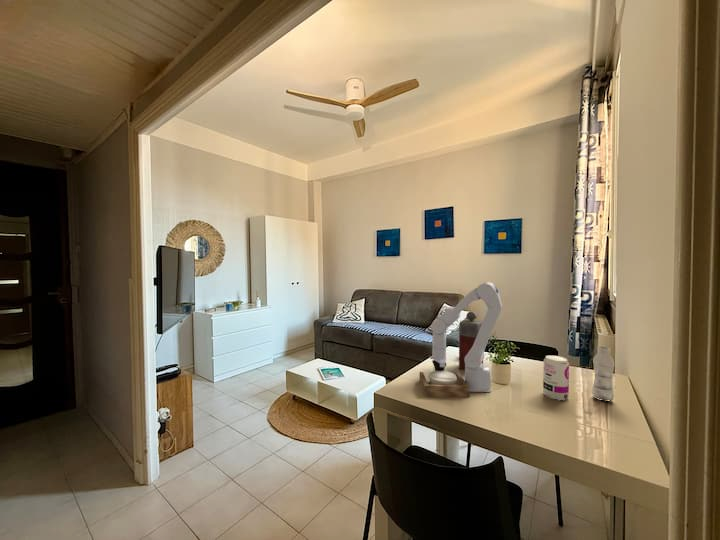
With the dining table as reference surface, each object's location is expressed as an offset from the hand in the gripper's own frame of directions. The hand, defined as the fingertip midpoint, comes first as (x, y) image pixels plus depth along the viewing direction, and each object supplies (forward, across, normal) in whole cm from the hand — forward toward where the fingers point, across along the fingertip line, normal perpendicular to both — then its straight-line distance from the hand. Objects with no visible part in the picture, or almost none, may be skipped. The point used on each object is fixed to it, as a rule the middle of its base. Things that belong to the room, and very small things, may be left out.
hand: (439, 377), depth 131 cm
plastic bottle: (+2, +14, +58) cm, 60 cm away
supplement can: (+2, +12, +42) cm, 44 cm away
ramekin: (+2, +7, 0) cm, 7 cm away
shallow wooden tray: (+1, +7, 0) cm, 7 cm away
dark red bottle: (+2, -16, +19) cm, 25 cm away
